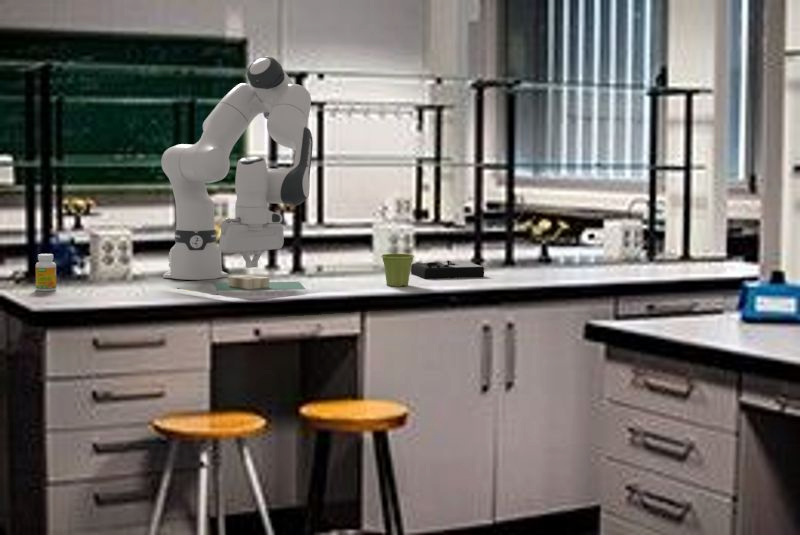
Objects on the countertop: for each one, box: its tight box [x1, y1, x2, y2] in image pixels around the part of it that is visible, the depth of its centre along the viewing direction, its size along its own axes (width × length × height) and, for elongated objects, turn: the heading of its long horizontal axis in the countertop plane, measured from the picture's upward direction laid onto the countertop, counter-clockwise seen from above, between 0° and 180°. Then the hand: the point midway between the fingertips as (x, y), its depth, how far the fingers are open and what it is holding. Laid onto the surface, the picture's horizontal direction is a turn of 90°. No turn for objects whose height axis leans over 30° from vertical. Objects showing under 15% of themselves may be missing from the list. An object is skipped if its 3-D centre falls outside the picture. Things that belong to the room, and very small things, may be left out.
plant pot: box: [380, 253, 415, 288], centre depth 370 cm, size 9×9×9 cm
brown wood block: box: [227, 274, 270, 291], centre depth 354 cm, size 9×3×7 cm
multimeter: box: [410, 260, 485, 280], centre depth 395 cm, size 13×19×5 cm
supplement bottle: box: [35, 253, 57, 292], centre depth 351 cm, size 5×5×10 cm
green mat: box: [213, 281, 306, 296], centre depth 357 cm, size 16×24×1 cm, turn 101°
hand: (251, 267), depth 354 cm, fingers closed
